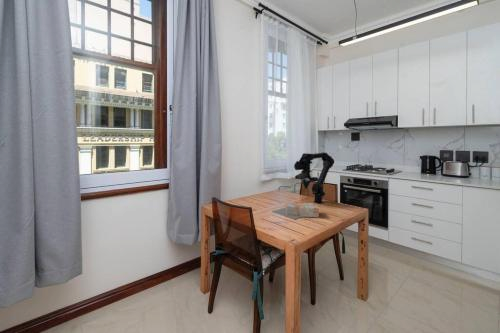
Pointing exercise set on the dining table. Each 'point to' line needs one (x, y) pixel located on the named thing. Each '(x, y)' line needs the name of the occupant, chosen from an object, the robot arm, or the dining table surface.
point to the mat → (283, 212)
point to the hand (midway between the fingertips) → (305, 188)
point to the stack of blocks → (302, 209)
